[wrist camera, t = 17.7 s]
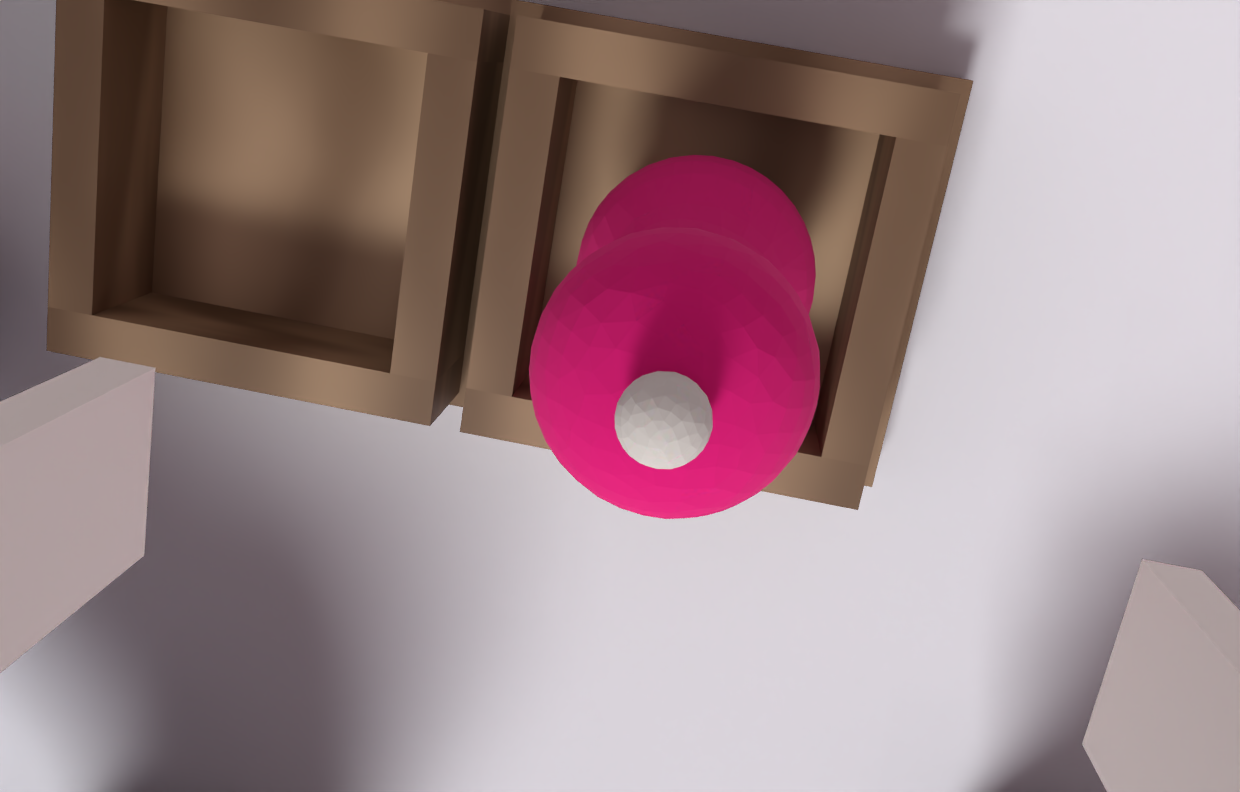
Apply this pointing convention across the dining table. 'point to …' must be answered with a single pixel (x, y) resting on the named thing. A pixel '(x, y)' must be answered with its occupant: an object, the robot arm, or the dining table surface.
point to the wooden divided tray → (456, 196)
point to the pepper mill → (681, 341)
